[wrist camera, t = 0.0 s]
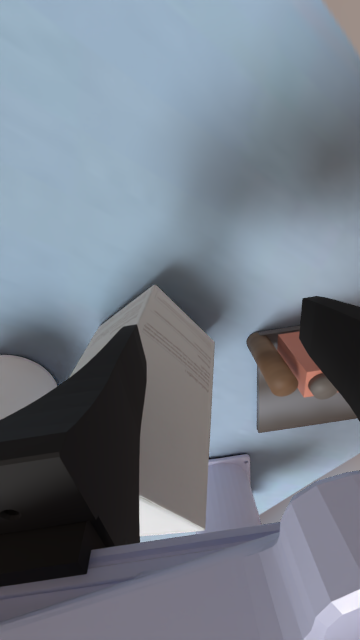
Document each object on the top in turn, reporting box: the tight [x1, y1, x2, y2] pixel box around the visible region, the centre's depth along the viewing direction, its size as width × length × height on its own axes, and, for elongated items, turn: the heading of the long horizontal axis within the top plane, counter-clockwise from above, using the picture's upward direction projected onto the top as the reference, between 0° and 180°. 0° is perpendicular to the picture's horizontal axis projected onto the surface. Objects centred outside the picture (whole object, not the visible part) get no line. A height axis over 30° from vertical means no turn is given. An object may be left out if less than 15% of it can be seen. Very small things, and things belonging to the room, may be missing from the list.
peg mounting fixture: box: [247, 326, 357, 433], centre depth 23 cm, size 13×16×7 cm
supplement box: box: [69, 285, 215, 536], centre depth 17 cm, size 7×7×13 cm
